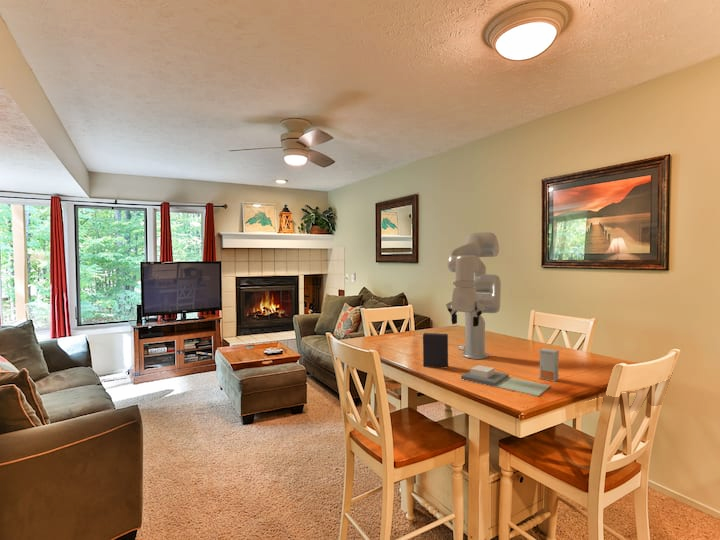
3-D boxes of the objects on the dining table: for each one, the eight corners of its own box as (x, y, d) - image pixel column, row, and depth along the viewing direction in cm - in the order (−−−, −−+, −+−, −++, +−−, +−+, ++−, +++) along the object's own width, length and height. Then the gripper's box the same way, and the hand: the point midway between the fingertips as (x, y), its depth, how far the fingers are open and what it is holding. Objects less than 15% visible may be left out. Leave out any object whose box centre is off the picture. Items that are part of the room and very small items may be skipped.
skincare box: (539, 378, 157) (539, 349, 157) (543, 376, 160) (543, 347, 160) (555, 382, 153) (555, 352, 153) (558, 379, 156) (559, 350, 156)
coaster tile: (470, 374, 159) (470, 368, 158) (478, 370, 164) (478, 365, 164) (487, 378, 154) (487, 372, 154) (494, 374, 159) (494, 368, 159)
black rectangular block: (448, 365, 178) (447, 333, 177) (447, 368, 174) (447, 335, 173) (424, 364, 181) (423, 332, 180) (423, 366, 177) (422, 334, 176)
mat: (494, 386, 148) (494, 385, 148) (508, 378, 159) (508, 377, 159) (538, 396, 138) (538, 395, 138) (550, 386, 148) (550, 385, 148)
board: (461, 379, 158) (461, 375, 158) (476, 371, 168) (476, 368, 168) (494, 386, 148) (494, 382, 148) (508, 378, 159) (508, 374, 159)
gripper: (442, 284, 166) (442, 324, 167) (480, 286, 155) (480, 328, 155) (450, 283, 172) (450, 322, 172) (488, 285, 160) (488, 326, 161)
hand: (464, 325), depth 164 cm, fingers open, 9 cm apart
